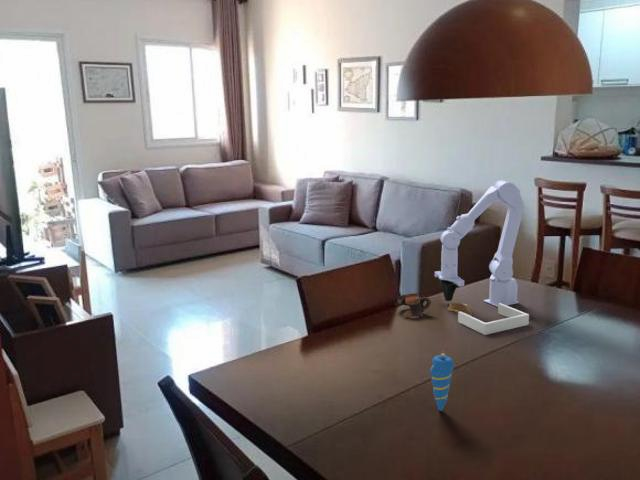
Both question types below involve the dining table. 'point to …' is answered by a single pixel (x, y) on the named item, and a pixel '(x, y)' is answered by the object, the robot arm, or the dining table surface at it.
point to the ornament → (441, 378)
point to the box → (513, 320)
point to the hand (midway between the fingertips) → (448, 300)
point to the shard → (460, 308)
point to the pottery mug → (413, 304)
